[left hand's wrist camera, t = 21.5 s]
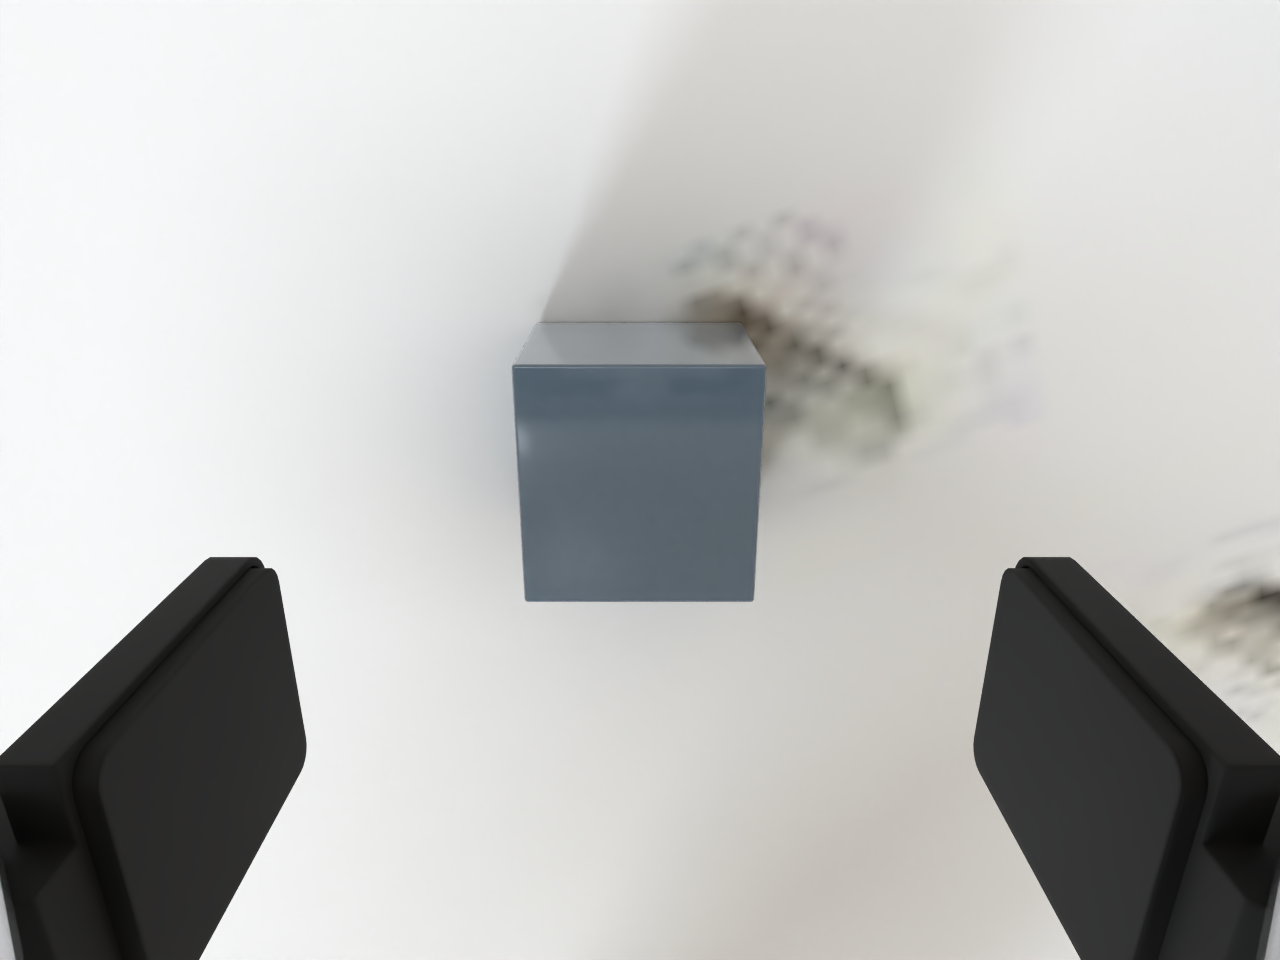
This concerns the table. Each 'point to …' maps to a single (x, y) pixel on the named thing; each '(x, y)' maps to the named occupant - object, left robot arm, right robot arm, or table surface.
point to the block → (639, 461)
